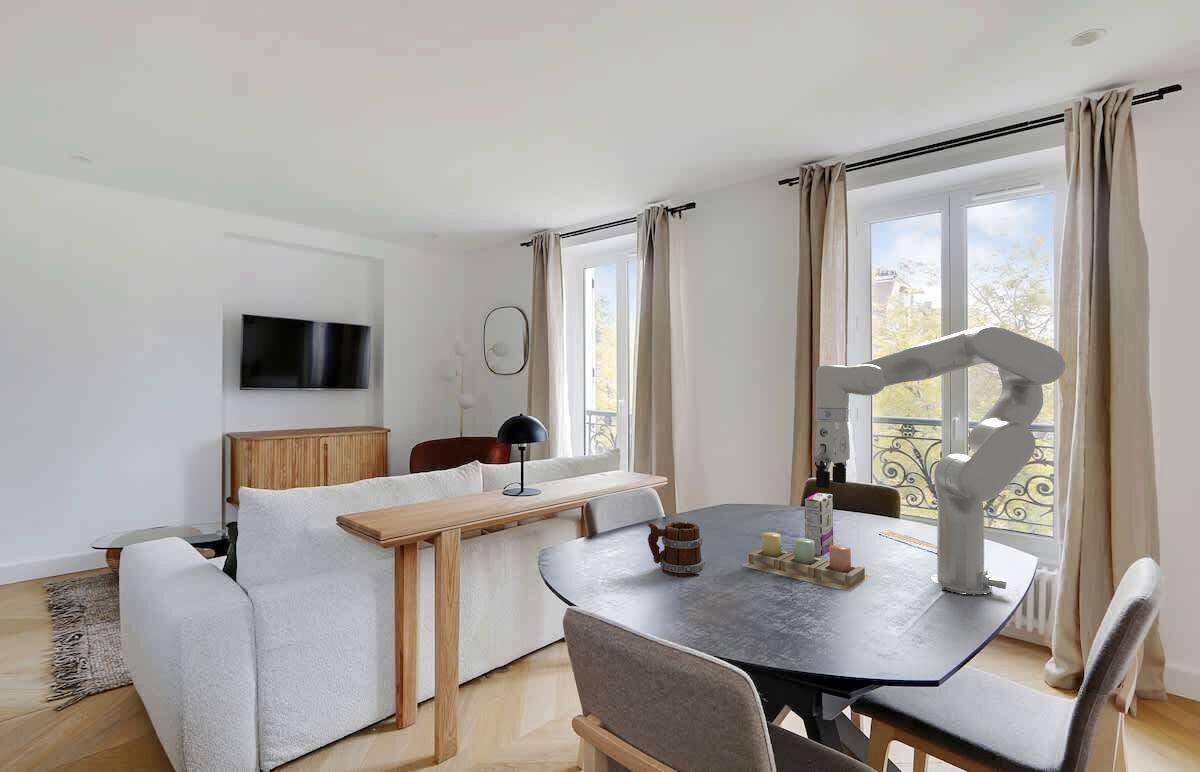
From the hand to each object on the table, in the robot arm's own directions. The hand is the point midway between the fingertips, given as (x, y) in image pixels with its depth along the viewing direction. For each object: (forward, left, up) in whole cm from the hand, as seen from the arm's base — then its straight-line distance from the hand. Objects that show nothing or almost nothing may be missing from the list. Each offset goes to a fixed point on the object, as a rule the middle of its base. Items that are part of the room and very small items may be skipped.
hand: (831, 485), depth 146 cm
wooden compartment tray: (+7, 0, -24) cm, 25 cm away
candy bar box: (+12, -21, -24) cm, 34 cm away
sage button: (+7, 0, -20) cm, 21 cm away
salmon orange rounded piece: (-2, 0, -20) cm, 20 cm away
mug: (+33, +19, -24) cm, 45 cm away
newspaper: (-5, -51, -25) cm, 57 cm away
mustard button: (+16, 0, -20) cm, 25 cm away
